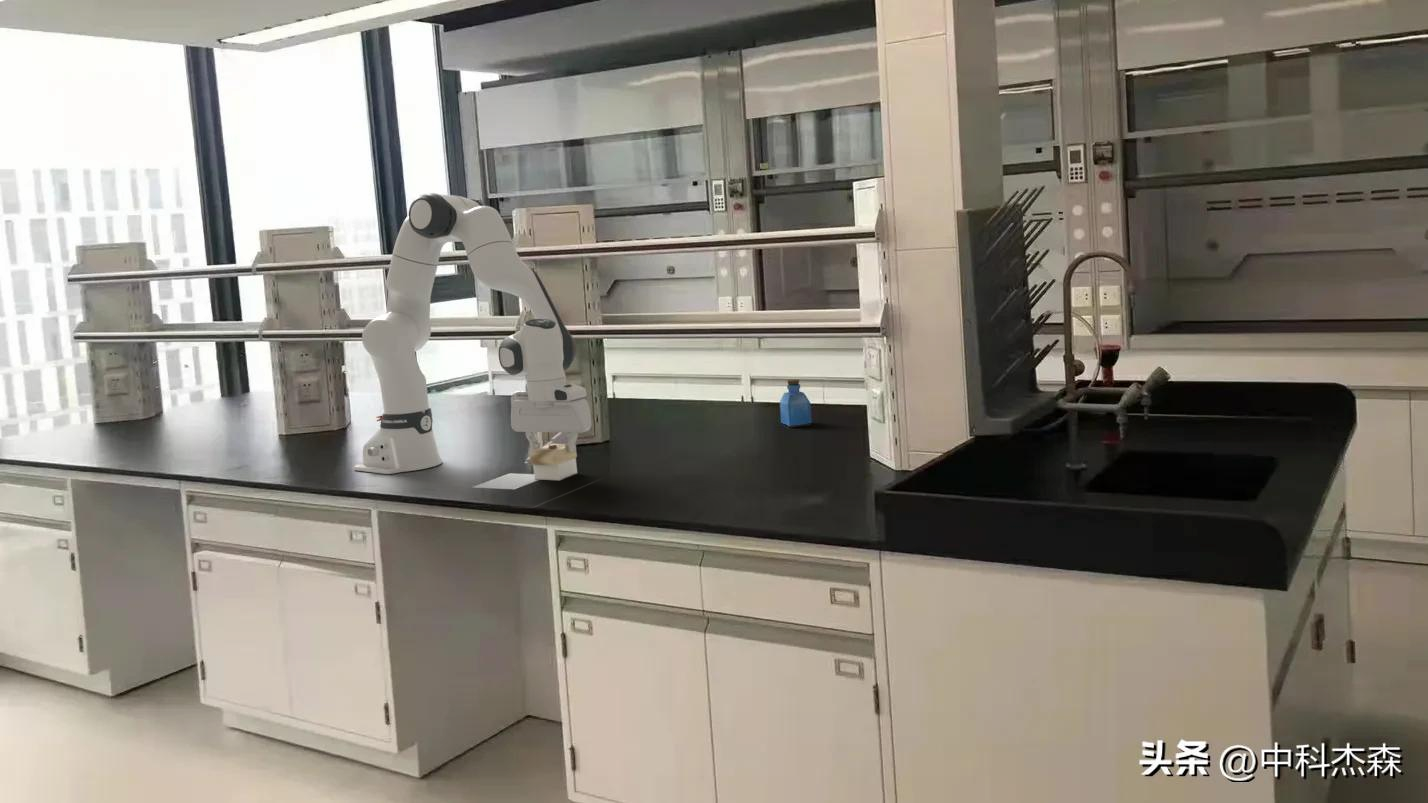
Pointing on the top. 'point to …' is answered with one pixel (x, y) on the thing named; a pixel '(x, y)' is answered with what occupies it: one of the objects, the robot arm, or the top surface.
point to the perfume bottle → (794, 405)
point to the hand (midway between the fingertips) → (553, 451)
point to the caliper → (556, 441)
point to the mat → (508, 481)
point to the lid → (551, 455)
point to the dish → (555, 470)
